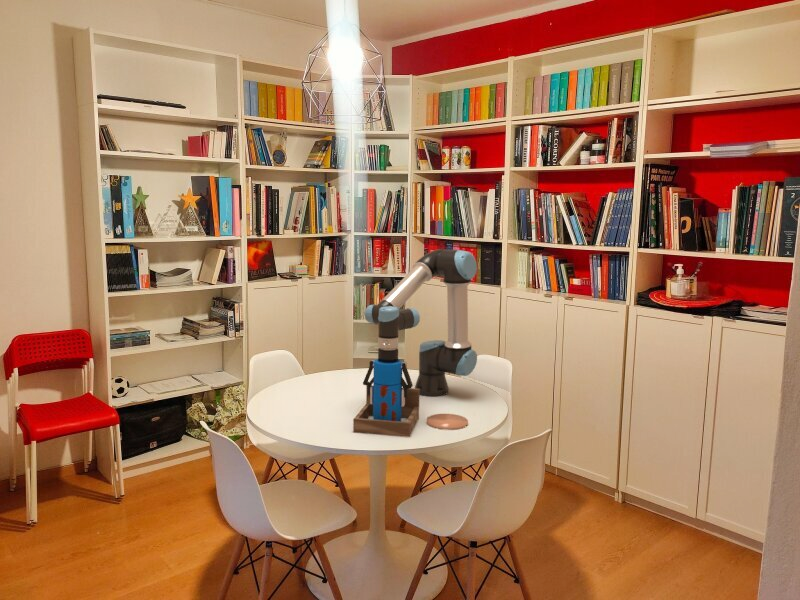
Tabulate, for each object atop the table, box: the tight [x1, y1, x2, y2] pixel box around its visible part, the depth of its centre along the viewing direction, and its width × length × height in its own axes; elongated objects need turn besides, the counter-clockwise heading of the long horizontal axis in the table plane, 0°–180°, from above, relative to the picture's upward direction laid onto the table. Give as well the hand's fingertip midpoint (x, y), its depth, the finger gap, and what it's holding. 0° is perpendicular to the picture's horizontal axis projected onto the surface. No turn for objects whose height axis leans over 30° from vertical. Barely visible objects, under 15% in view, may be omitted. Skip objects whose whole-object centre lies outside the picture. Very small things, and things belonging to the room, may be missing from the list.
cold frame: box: [352, 385, 420, 438], centre depth 244 cm, size 21×21×12 cm
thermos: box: [372, 358, 403, 422], centre depth 243 cm, size 11×11×25 cm
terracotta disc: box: [426, 413, 469, 430], centre depth 248 cm, size 16×16×1 cm
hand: (387, 404), depth 244 cm, fingers open, 11 cm apart
